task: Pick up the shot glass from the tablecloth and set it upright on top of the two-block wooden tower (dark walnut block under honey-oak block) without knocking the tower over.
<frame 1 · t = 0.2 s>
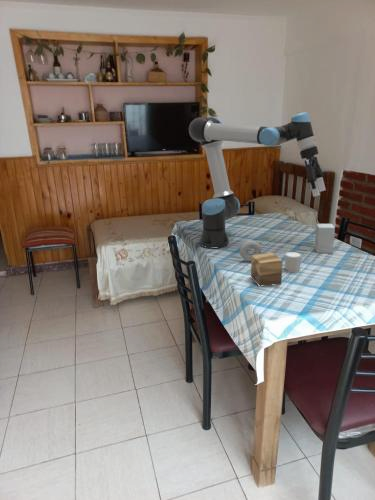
hand: (319, 193, 161), 28 cm above the table, tool tilted 20°, fingers open, 13 cm apart
donut: (250, 261, 161), on the table
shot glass: (292, 270, 149), on the table
walnut block: (265, 281, 140), on the table, touching oak block
oak block: (266, 269, 138), point 5 cm above the table, touching walnut block
supplement box: (323, 251, 169), on the table
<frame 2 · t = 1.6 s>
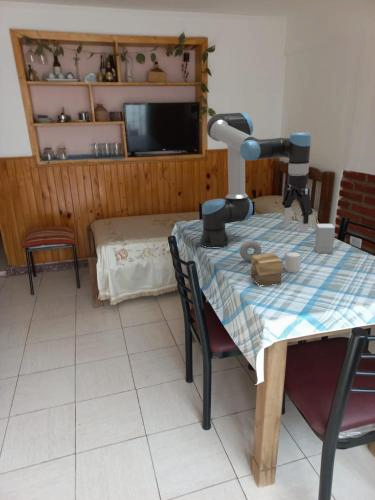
hand: (295, 227, 143), 19 cm above the table, tool pointing down, fingers open, 13 cm apart
nothing on the table moved.
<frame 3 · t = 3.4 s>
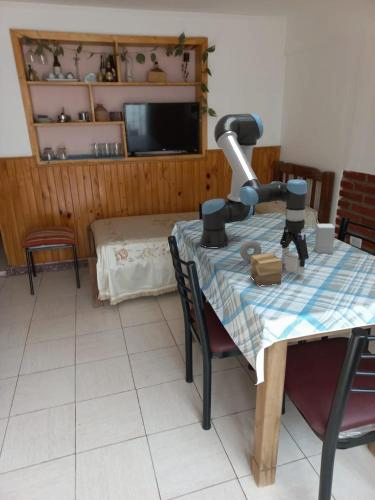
hand: (292, 267, 148), 1 cm above the table, tool pointing down, fingers open, 13 cm apart
nothing on the table moved.
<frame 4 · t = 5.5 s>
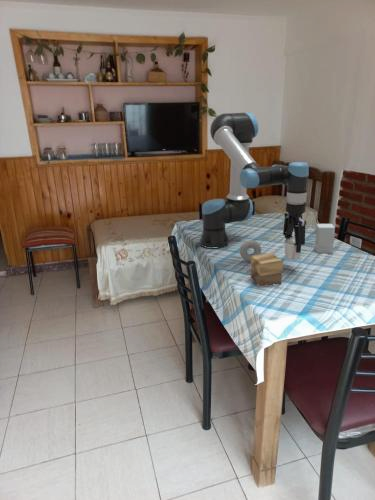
hand: (292, 255, 147), 6 cm above the table, tool pointing down, fingers closed on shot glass, 7 cm apart
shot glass: (292, 257, 147), point 6 cm above the table, touching gripper
everything else where it was.
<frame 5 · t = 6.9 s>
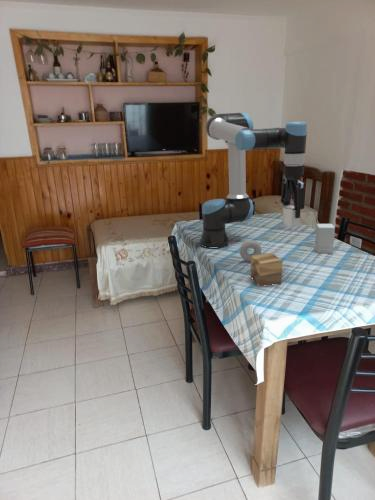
hand: (291, 223, 141), 21 cm above the table, tool pointing down, fingers closed on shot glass, 7 cm apart
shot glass: (290, 224, 141), point 20 cm above the table, touching gripper
everything else where it was.
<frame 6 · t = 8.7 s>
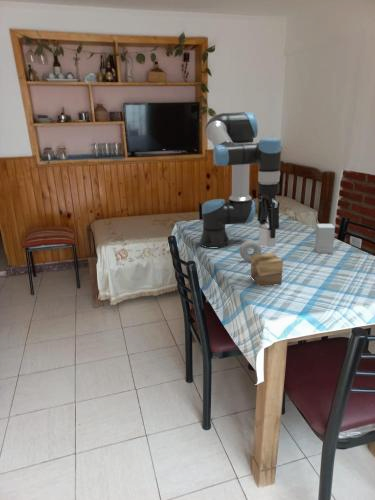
hand: (267, 242, 134), 16 cm above the table, tool pointing down, fingers closed on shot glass, 7 cm apart
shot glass: (267, 244, 135), point 15 cm above the table, touching gripper
everything else where it was.
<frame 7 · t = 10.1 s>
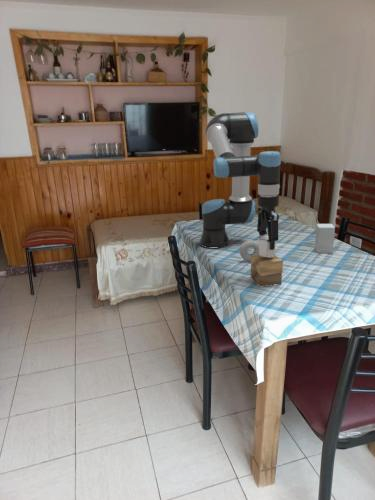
hand: (266, 253, 136), 11 cm above the table, tool pointing down, fingers closed on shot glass, 7 cm apart
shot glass: (266, 255, 136), point 11 cm above the table, touching gripper
everything else where it was.
when the fingers open (11 cm above the table, at t = 10.2 s): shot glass drops 1 cm, resting on oak block.
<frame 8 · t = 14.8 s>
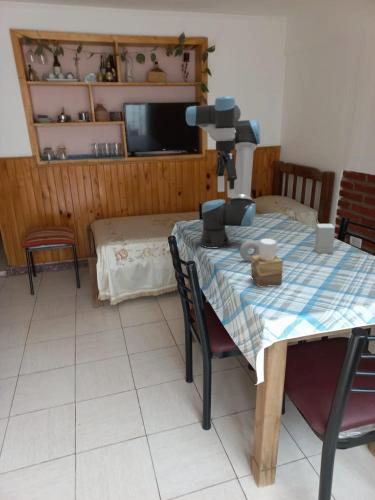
hand: (225, 194, 143), 33 cm above the table, tool pointing down, fingers open, 13 cm apart
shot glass: (266, 258, 136), point 10 cm above the table, touching oak block
oak block: (266, 270, 137), point 5 cm above the table, touching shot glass, walnut block
everything else where it was.
at the end: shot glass 0.2 cm off-centre on the oak block, point 5.0 cm above the oak block's base; oak block 0.1 cm off-centre on the walnut block, point 5.0 cm above the walnut block's base; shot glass tilted 5° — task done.
